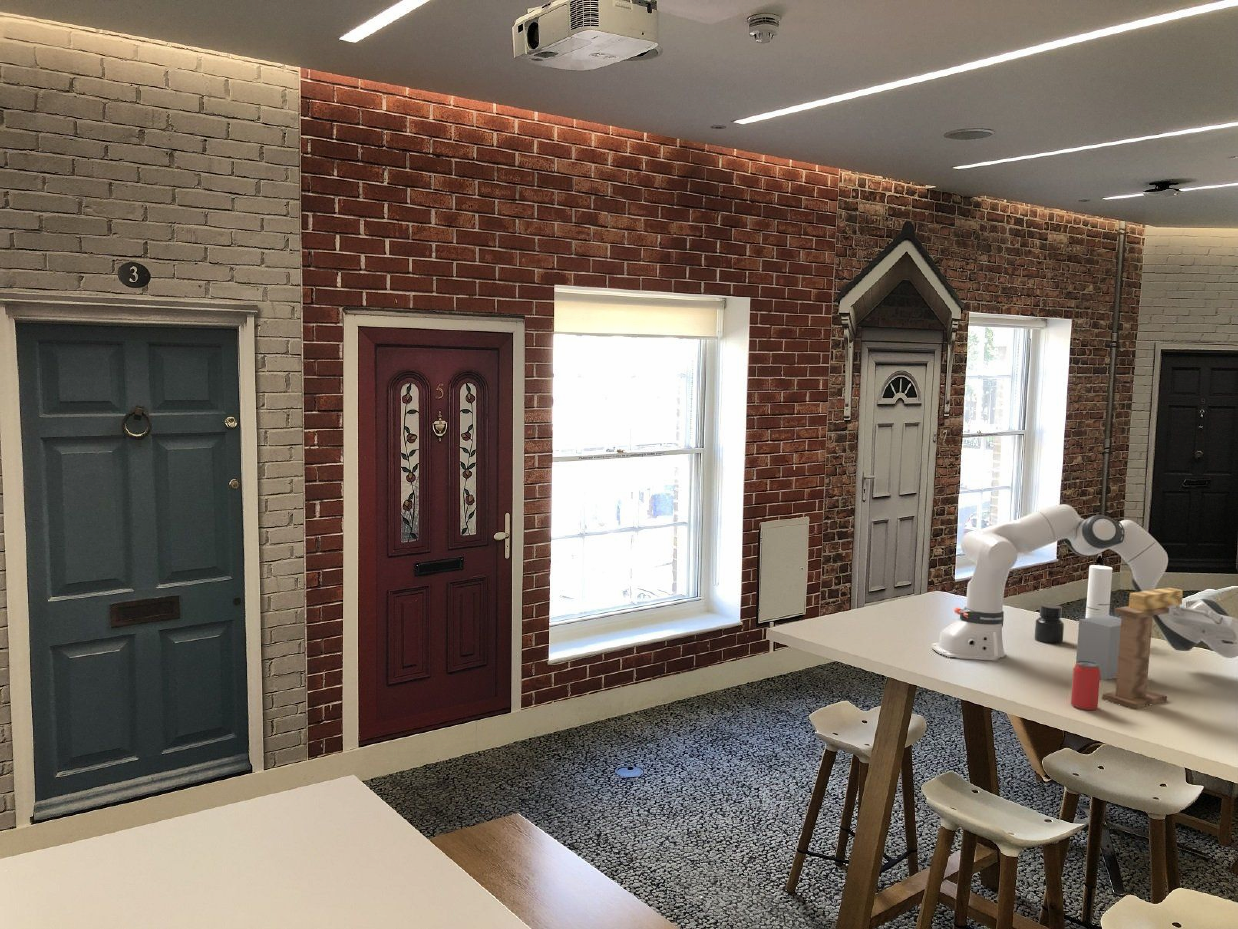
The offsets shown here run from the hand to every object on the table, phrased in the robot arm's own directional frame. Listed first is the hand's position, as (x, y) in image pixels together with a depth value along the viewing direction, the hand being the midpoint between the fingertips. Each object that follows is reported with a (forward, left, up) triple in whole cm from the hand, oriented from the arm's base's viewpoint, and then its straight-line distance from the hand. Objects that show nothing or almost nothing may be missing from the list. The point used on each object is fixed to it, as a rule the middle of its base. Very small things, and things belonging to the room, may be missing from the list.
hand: (1190, 609), depth 282 cm
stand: (-22, -11, -23) cm, 34 cm away
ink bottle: (-14, +51, -24) cm, 58 cm away
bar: (-16, -8, +3) cm, 18 cm away
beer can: (-40, -17, -24) cm, 49 cm away
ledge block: (-15, +15, -23) cm, 32 cm away
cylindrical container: (+5, +55, -24) cm, 60 cm away
